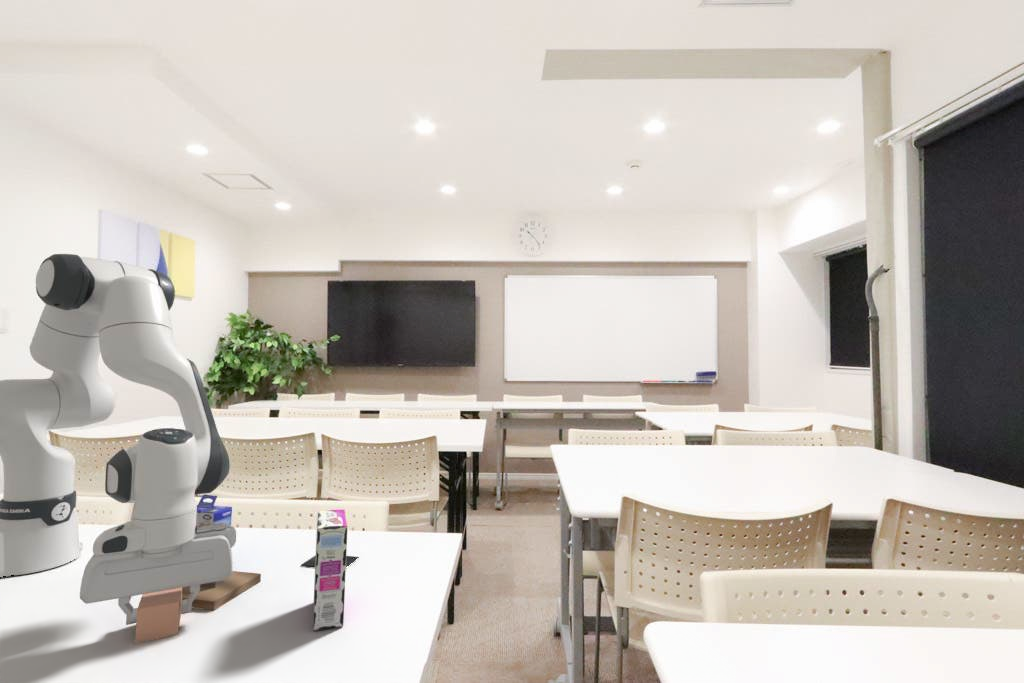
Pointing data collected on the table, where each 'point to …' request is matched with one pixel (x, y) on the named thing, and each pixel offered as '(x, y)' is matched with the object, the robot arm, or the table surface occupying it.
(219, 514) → the ink cartridge box
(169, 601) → the salmon rectangular block
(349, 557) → the solid state drive
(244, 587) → the base
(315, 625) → the candy bar box
